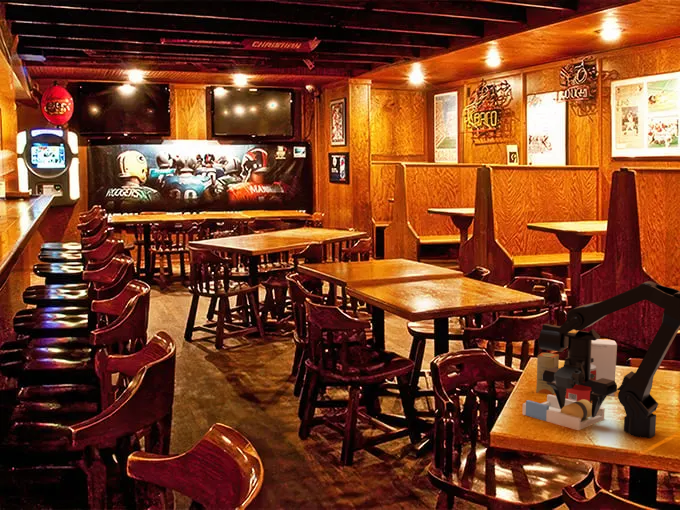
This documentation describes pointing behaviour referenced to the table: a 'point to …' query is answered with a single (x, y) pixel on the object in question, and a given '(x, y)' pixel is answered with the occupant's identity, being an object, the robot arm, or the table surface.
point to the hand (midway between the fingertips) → (577, 412)
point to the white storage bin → (559, 413)
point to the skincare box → (604, 358)
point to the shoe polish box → (543, 364)
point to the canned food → (581, 389)
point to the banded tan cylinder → (578, 409)
